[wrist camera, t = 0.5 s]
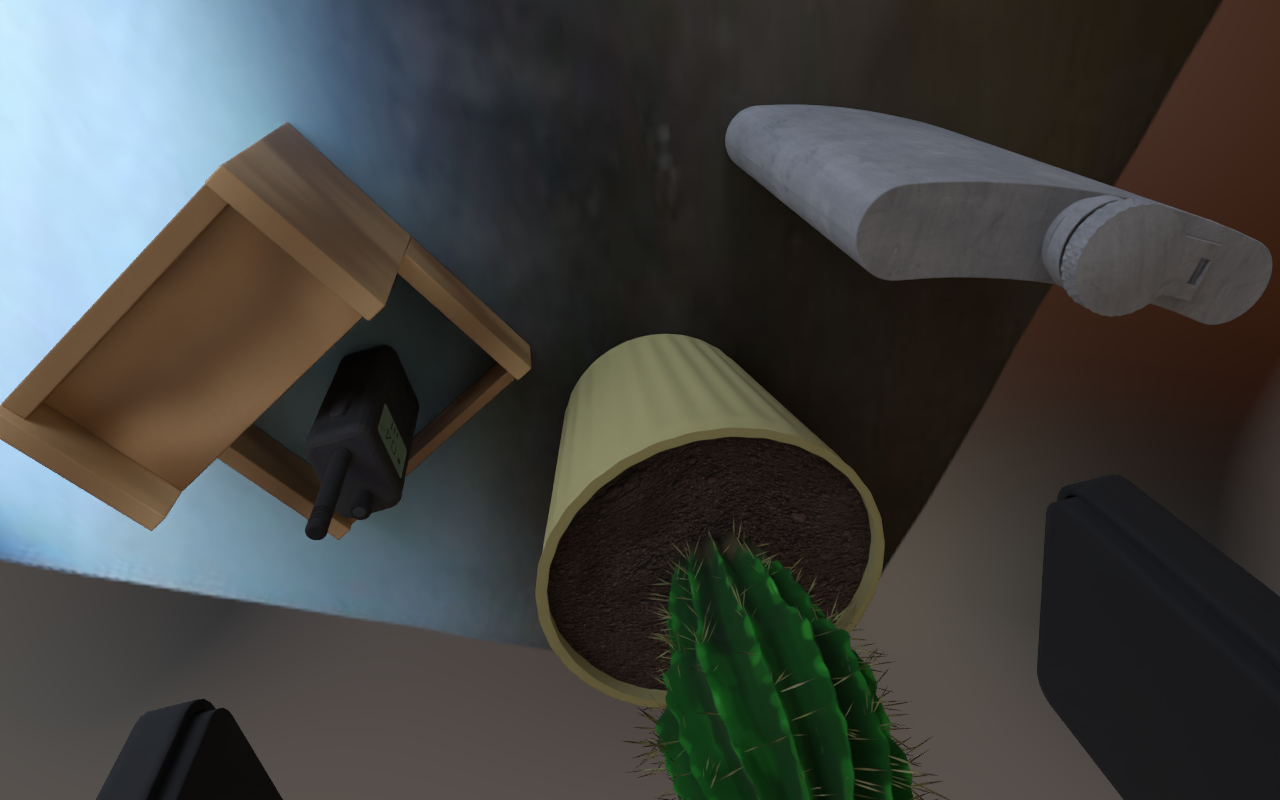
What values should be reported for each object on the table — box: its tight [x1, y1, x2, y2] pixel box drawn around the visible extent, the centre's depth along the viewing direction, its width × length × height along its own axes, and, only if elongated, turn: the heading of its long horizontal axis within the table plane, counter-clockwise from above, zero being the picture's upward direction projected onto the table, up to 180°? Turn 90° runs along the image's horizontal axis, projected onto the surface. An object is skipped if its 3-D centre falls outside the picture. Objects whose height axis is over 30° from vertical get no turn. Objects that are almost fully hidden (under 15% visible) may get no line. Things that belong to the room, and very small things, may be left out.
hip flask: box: [725, 105, 1272, 325], centre depth 33 cm, size 16×4×20 cm, turn 80°
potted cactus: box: [535, 334, 945, 800], centre depth 35 cm, size 15×15×30 cm
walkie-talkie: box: [304, 345, 419, 540], centre depth 38 cm, size 5×3×15 cm
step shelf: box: [0, 122, 531, 540], centre depth 38 cm, size 16×15×10 cm
